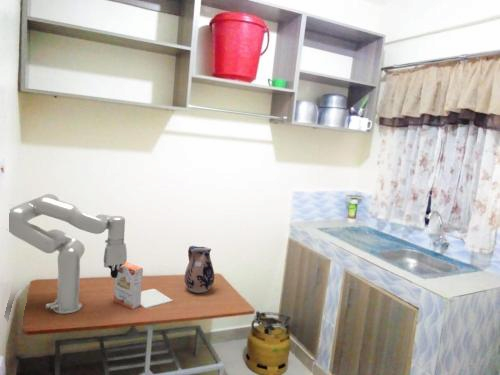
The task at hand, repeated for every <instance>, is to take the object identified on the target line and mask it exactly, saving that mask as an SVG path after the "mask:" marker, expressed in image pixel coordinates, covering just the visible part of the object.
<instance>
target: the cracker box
mask: <svg viewBox="0 0 500 375" xmlns="http://www.w3.org/2000/svg"><path fill="white" fill-rule="evenodd" d="M143 272H144V270H143V267H141V266H139V265H135V264H132V263H130V262H127V261H126V263H125V264H124V265H121V267H120V268H119V270H118V275H117V278H114V290H113V302H114V303H116V304H118V305H120V306H123V307H125V308H128V309H130V310H134V309H137V308H139V307H140V306H141V305H140V302H141V291H142V289H143V288H142V287H143V286H142V285H143Z"/></svg>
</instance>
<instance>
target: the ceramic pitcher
mask: <svg viewBox="0 0 500 375" xmlns="http://www.w3.org/2000/svg"><path fill="white" fill-rule="evenodd" d="M211 251H212V248H210V247H206V246H195V245H190V246H189V247H188V250H187V253H188V254H187V255H188V264H187V267H186V269H185V273H184V283H185V285H186V288H188V290H189V291H191V293H196V294H203V293H207V292H208V291H209V290H210V289H211V288H212V286H213V285H214V282H215V271H214V268H213V267H214V266H213V262H212V260H211Z"/></svg>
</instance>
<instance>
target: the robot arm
mask: <svg viewBox="0 0 500 375" xmlns="http://www.w3.org/2000/svg"><path fill="white" fill-rule="evenodd" d="M9 210H10V213H9V231H8V233H10V234H11V235H12V236H14V237H16V238H18V239H19V240H21V241H23V242H25V243H27V244H29V245H30V246H31V247H33V248H36V249H38V250H40V251H42V253H45V254H53V253H55V252H56V251H57V252H58V254H57V271H58V272H57V295H56V299H54V301H53V302H51V303H50V302H49V303H46V304H45V309H50V310H53V312H54V313H57V314H60V315H61V314H62V315H64V314H73V313H76V312H78V311H79V310H81V309H82V305H83V304H82V302H80V301H79V298H80V296H79V295H80V279H81V278H80V277H81V265H80V264H81V258H82V257H83V255H84V253H85V251H86V250H85V246H84V243H82V242H81V241H80V240H78V239H77V238H74V237H73V236H72V235H69V234H68V233H66V232H64V231H62V230H60V229H50V230H45V229H43V228H41V227H39V226H38V225H35V224H32V223H30V222H29V221H30V220H32V219H34V218H37V217H40V216H43V215H44V216H47V217H51V218H53V219H55V220H60V221H63V222H65V223H68V224H69V225H71V226H73V227H75V228H76V229H78V230H82V231H84V232H87V233H90V234H95V235H99V234H102V233H104V232H106V230H108V231H107V232H108V233H107V239H105V240H104V244H106V245H105V247H104V254H103V267H104V268H106V269H108V268H109V269H110V277H111V278H113V279H115V278H117V275H118V270H119V268H120V267H121V265H124V264H125V263H126V262H127V261H128V260H127V259H128V256H127V246H126V245H127V244H126V243H125V228H126V218H125V217H124V216H121V215H113V216H112V215H107V214H97V215H95V216H91V215H88V214H86V213H84V212H82V211H81V210H79V209H78V207H77V206H76V205H74V204H72V203H68V202H66V201H62V200H60V199H59V198H58V197H57V196H56V195H55V194H51V193H47V194H44V195H41V196H39V197H36V198H34V199H33V198H32V199H31V200H29V201H24V202H22V203H20V204H17V205H15V206H13V207H12V208H10V209H9Z"/></svg>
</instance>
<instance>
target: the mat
mask: <svg viewBox="0 0 500 375" xmlns="http://www.w3.org/2000/svg"><path fill="white" fill-rule="evenodd" d="M172 302H173V299H171V298H170V297H168V296H167V295H165V294H163V293H162V292H160V291H159V290H157V289H155V288H151V289H150V288H149V289H146V290H141V302H140V306H141V307H142V308H143V309H146V310H147V309H149V308H154V307H156V306H159V305H160V306H161V305H164V304H168V303H172Z"/></svg>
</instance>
